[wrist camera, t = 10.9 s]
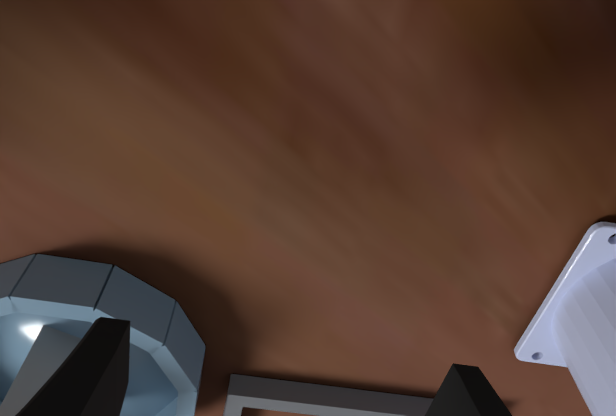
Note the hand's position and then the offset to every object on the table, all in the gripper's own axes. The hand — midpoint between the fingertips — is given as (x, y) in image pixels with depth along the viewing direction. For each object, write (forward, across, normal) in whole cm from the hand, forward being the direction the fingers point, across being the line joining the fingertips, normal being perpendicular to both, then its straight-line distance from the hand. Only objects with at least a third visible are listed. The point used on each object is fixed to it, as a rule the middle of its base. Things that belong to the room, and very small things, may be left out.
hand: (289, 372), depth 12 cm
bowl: (+9, +8, +12) cm, 17 cm away
